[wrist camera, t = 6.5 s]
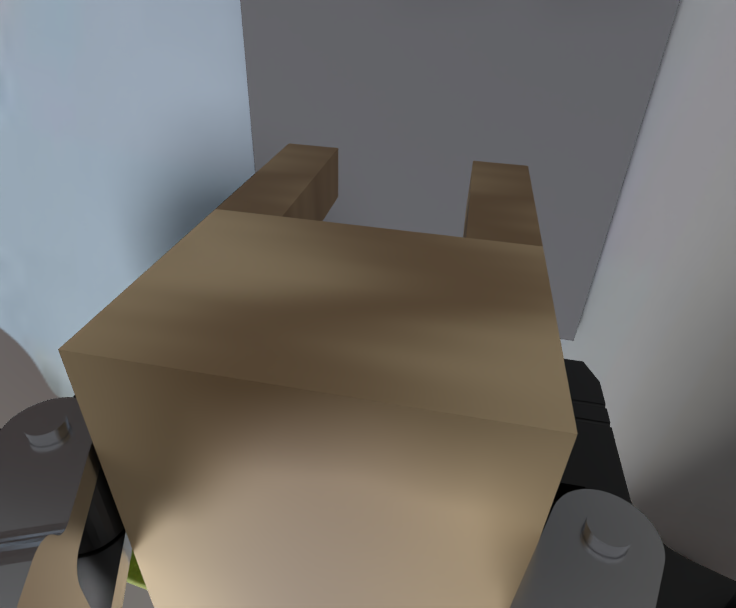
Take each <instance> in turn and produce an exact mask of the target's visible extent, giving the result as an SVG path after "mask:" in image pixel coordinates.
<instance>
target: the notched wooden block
mask: <svg viewBox="0 0 736 608" xmlns="http://www.w3.org/2000/svg"><path fill="white" fill-rule="evenodd" d="M337 198H338V148H333V147H322V146H311V145H301V144H290V143H289V144H288V145H286V146H285V147H284V148H283V149H282V150H281V151H280V152H279V153H277V154H276V155H275V156H274V157H273V158H272V159H271V160H270V161H269V162H267V163H266V164H265V165H264V166H263V167H262V168H261V169H260V170H258V171H257V172H256V173H255V174H254V175H253V176H252V177H251V178H250V179H248V180H247V181H246V182H245V183H244V184H243V185H242V186H241V187H239V188H238V189H237V190H236V191H235V192H234V193H233V194H232V195H230V196H229V197H228V198H227V199H226V200H225V201H224V202H223V203H222V204H220V205H219V206H218V207H217V208H216V209H215V210H214V211H213V212H211V213H210V214H209V215H208V216H207V217H206V218H205V219H204V220H203V221H201V222H200V223H199V224H198V225H197V226H196V227H195V228H194V229H192V230H191V231H190V232H189V233H188V234H187V235H186V236H185V237H184V238H182V239H181V240H180V241H179V242H178V243H177V244H176V245H175V246H173V247H172V248H171V249H170V250H169V251H168V252H167V253H166V254H164V255H163V256H162V257H161V258H160V259H159V260H158V261H157V262H156V263H154V264H153V265H152V266H151V267H150V268H149V269H148V270H147V271H145V272H144V273H143V274H142V275H141V276H140V277H139V278H138V279H137V280H135V281H134V282H133V283H132V284H131V285H130V286H129V287H128V288H126V289H125V290H124V291H123V292H122V293H121V294H120V295H119V296H118V297H116V298H115V299H114V300H113V301H112V302H111V303H110V304H109V305H107V306H106V307H105V308H104V309H103V310H102V311H101V312H100V313H98V314H97V315H96V316H95V317H94V318H93V319H92V320H91V321H90V322H88V323H87V324H86V325H85V326H84V327H83V328H82V329H81V330H79V331H78V332H77V333H76V334H75V335H74V336H73V337H72V338H71V339H69V340H68V341H67V342H66V343H65V344H64V345H63V346H62V347H60V348H59V349H58V350H59V353H60V356H61V358H62V361H63V364H64V366H65V369H66V372H67V374H68V377H69V380H70V382H71V385H72V388H73V391H74V393H75V396H76V399H77V401H78V404H79V407H80V409H81V412H82V415H83V417H84V420H85V423H86V426H87V428H88V431H89V434H90V436H91V439H92V442H93V444H94V447H95V450H96V452H97V455H98V458H99V461H100V463H101V466H102V469H103V471H104V474H105V477H106V479H107V482H108V485H109V487H110V490H111V493H112V496H113V498H114V501H115V504H116V506H117V509H118V512H119V514H120V517H121V520H122V522H123V525H124V528H125V531H126V533H127V536H128V539H129V541H130V544H131V547H132V549H133V552H134V555H135V557H136V560H137V563H138V566H139V568H140V571H141V574H142V576H143V579H144V582H145V584H146V587H147V590H148V592H149V595H150V598H151V601H152V603H153V606H154V607H155V608H510V606H511V603H512V601H513V599H514V596H515V594H516V592H517V590H518V587H519V585H520V583H521V580H522V578H523V576H524V574H525V571H526V569H527V567H528V564H529V562H530V560H531V557H532V555H533V553H534V551H535V548H536V546H537V544H538V541H539V539H540V536H541V533H542V530H543V528H544V525H545V522H546V519H547V517H548V514H549V511H550V508H551V506H552V503H553V500H554V497H555V495H556V492H557V489H558V486H559V484H560V481H561V478H562V475H563V473H564V470H565V467H566V464H567V462H568V459H569V456H570V453H571V451H572V448H573V445H574V443H575V440H576V437H577V428H576V423H575V417H574V412H573V407H572V401H571V396H570V390H569V385H568V380H567V374H566V369H565V363H564V358H563V352H562V347H561V342H560V336H559V331H558V325H557V320H556V315H555V309H554V304H553V298H552V293H551V288H550V282H549V277H548V271H547V266H546V261H545V255H544V250H543V244H542V239H541V233H540V228H539V223H538V217H537V212H536V206H535V201H534V196H533V190H532V185H531V179H530V174H529V169H528V166H525V165H514V164H503V163H493V162H482V161H473V165H472V171H471V178H470V185H469V192H468V199H467V206H466V213H465V223H464V233H463V237H455V236H447V235H438V234H429V233H421V232H412V231H403V230H394V229H386V228H377V227H368V226H360V225H351V224H342V223H334V222H325V221H323V220H324V218H325V216H326V215H327V213H328V212H329V210H330V209H331V207H332V206H333V204H334V203H335V201H336V200H337Z"/></svg>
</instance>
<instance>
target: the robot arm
mask: <svg viewBox="0 0 736 608" xmlns="http://www.w3.org/2000/svg"><path fill="white" fill-rule="evenodd" d="M564 363H565V369H566V374H567V380H568V385H569V390H570V396H571V401H572V407H573V412H574V417H575V423H576V428H577V437H576V440H575V443H574V445H573V448H572V451H571V453H570V456H569V459H568V462H567V464H566V467H565V470H564V473H563V475H562V478H561V481H560V484H559V486H558V489H557V492H556V495H555V497H554V500H553V503H552V506H551V508H550V511H549V514H548V517H547V519H546V522H545V525H544V528H543V530H542V533H541V536H540V539H539V541H538V544H537V546H536V548H535V551H534V553H533V555H532V557H531V560H530V562H529V564H528V567H527V569H526V571H525V574H524V576H523V578H522V580H521V583H520V585H519V587H518V590H517V592H516V594H515V596H514V599H513V601H512V603H511V606H510V608H736V581H734V580H731V579H729V578H727V577H725V576H723V575H721V574H718V573H716V572H714V571H712V570H710V569H708V568H705V567H703V566H701V565H699V564H697V563H695V562H692V561H690V560H688V559H686V558H685V557H683V556H681V555H679V554H677V553H676V552H674V551H673V550H671V549H670V548H668V547H667V546H666V545H664V544H663V543H662V540H661V538H660V536H659V534H658V532H657V530H656V529H655V527H654V526H653V524H652V523H651V522H650V521H649V520H648V518H647V517H646V516H645V515H644V514H643V513H642V512H640V511H639V510H638V509H637V508H636V507H634V506H633V505H632V503H631V500H630V497H629V493H628V489H627V485H626V481H625V478H624V474H623V470H622V466H621V462H620V458H619V454H618V451H617V447H616V443H615V439H614V435H613V431H612V427H610V420H609V416H608V412H607V409H606V408H605V400H604V396H603V393H602V389H601V385H600V382H599V381H598V379H597V378H596V377H595V376H594V374H593V373H592V372H591V371H590V370H589V368H588V367H587V366H586V365H585V363H584V362H582V361H575V360H568V359H564ZM131 554H132V547H131V544H130V541H129V539H128V536H127V533H126V531H125V528H124V525H123V522H122V520H121V517H120V514H119V512H118V509H117V506H116V504H115V501H114V498H113V496H112V493H111V490H110V487H109V485H108V482H107V479H106V477H105V474H104V471H103V469H102V466H101V463H100V461H99V458H98V455H97V452H96V450H95V447H94V444H93V442H92V439H91V436H90V434H89V431H88V428H87V426H86V423H85V420H84V417H83V415H82V412H81V409H80V407H79V404H78V401H77V399H76V396H75V395H74V396H73V397H61V398H55V399H50V400H47V401H43V402H40V403H37V404H35V405H33V406H30V407H28V408H26V409H25V410H23V411H21V412H20V413H18V414H17V415H15V416H14V417H12V418H11V419H10V420H9V421H8V422H7V423H6V424H5V425H4V426H3V428H2V429H0V608H122V604H123V600H124V594H125V588H126V582H127V577H128V571H129V565H130V559H131Z"/></svg>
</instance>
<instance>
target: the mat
mask: <svg viewBox="0 0 736 608" xmlns="http://www.w3.org/2000/svg"><path fill="white" fill-rule="evenodd" d="M240 2H241V14H242V25H243V37H244V48H245V60H246V71H247V83H248V94H249V106H250V117H251V129H252V140H253V152H254V163H255V173H256V172H257V171H258V170H260V169H261V168H262V167H263V166H264V165H265V164H266V163H267V162H269V161H270V160H271V159H272V158H273V157H274V156H275V155H276V154H277V153H279V152H280V151H281V150H282V149H283V148H284V147H285V146H286V145H288V144H289V143H290V144H301V145H311V146H322V147H333V148H338V198H337V200H336V201H335V203H334V204H333V206H332V207H331V209H330V210H329V212H328V213H327V215H326V216H325V218H324V220H323V221H325V222H334V223H342V224H351V225H360V226H368V227H377V228H386V229H394V230H403V231H412V232H421V233H429V234H438V235H447V236H455V237H463V233H464V223H465V213H466V206H467V199H468V192H469V185H470V178H471V171H472V165H473V161H482V162H493V163H503V164H514V165H525V166H528V169H529V174H530V179H531V185H532V190H533V196H534V201H535V206H536V212H537V217H538V223H539V228H540V233H541V239H542V244H543V250H544V255H545V261H546V266H547V271H548V277H549V282H550V288H551V293H552V298H553V304H554V309H555V315H556V320H557V325H558V331H559V336H560V339H565V340H572V341H574V338H575V335H576V331H577V328H578V325H579V322H580V319H581V316H582V312H583V309H584V306H585V303H586V300H587V296H588V293H589V290H590V287H591V284H592V280H593V277H594V274H595V271H596V268H597V264H598V261H599V258H600V255H601V252H602V248H603V245H604V242H605V239H606V236H607V233H608V229H609V226H610V223H611V220H612V217H613V213H614V210H615V207H616V204H617V201H618V197H619V194H620V191H621V188H622V185H623V181H624V178H625V175H626V172H627V169H628V166H629V162H630V159H631V156H632V153H633V150H634V146H635V143H636V140H637V137H638V134H639V130H640V127H641V124H642V121H643V118H644V114H645V111H646V108H647V105H648V102H649V98H650V95H651V92H652V89H653V86H654V83H655V79H656V76H657V73H658V70H659V67H660V63H661V60H662V57H663V54H664V51H665V47H666V44H667V41H668V38H669V35H670V31H671V28H672V25H673V22H674V19H675V16H676V12H677V9H678V6H679V3H680V0H240Z"/></svg>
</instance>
